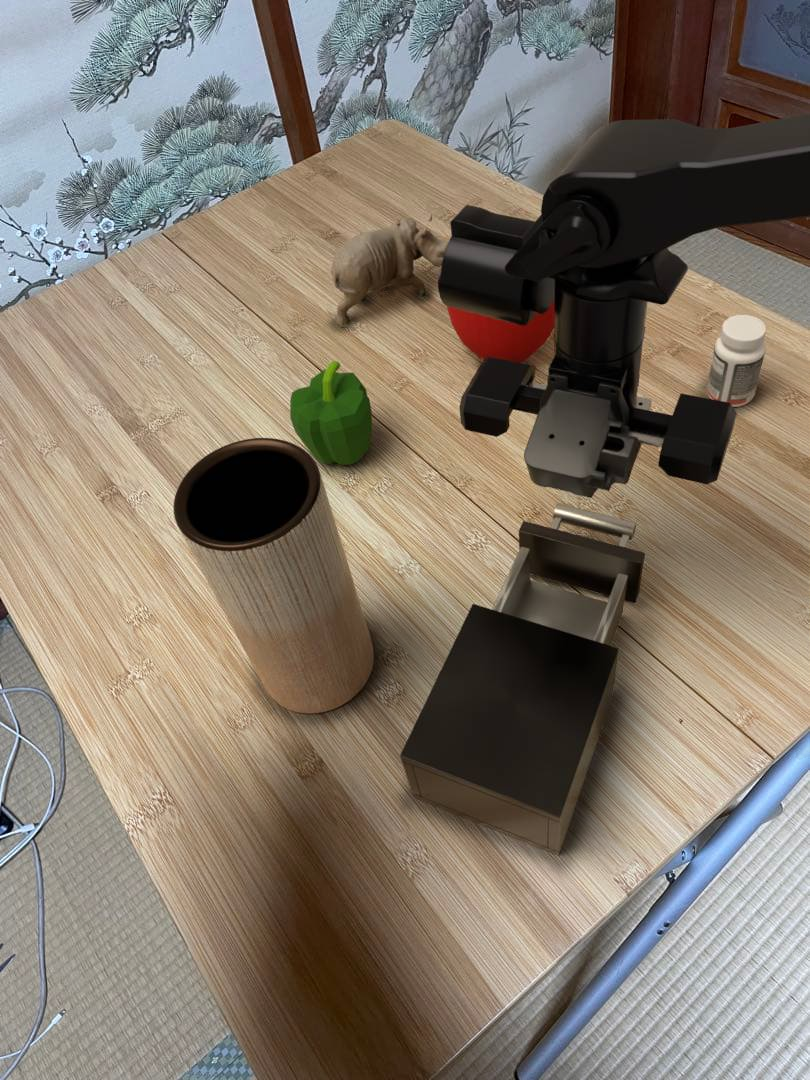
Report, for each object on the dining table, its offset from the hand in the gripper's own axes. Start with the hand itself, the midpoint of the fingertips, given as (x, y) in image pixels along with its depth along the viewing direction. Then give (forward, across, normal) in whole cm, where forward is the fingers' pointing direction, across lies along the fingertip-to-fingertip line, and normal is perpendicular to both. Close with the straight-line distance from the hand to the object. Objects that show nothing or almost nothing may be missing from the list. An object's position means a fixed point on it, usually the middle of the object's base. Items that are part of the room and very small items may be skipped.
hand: (588, 493), depth 66 cm
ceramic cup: (+11, -16, +29) cm, 35 cm away
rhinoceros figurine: (+11, -34, +33) cm, 49 cm away
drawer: (+10, 0, -5) cm, 11 cm away
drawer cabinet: (+11, 0, -18) cm, 21 cm away
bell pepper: (+11, -28, +7) cm, 31 cm away
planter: (+11, -18, -17) cm, 27 cm away
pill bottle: (+11, +7, +27) cm, 30 cm away
